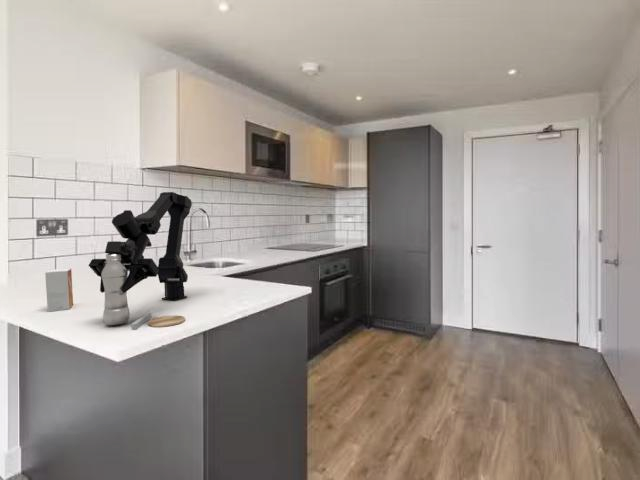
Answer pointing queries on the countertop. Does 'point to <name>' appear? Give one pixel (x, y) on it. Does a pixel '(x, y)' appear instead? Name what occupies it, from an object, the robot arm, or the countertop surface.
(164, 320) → the coaster
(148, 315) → the sill
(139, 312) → the countertop surface
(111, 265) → the plastic bottle
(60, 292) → the small box
